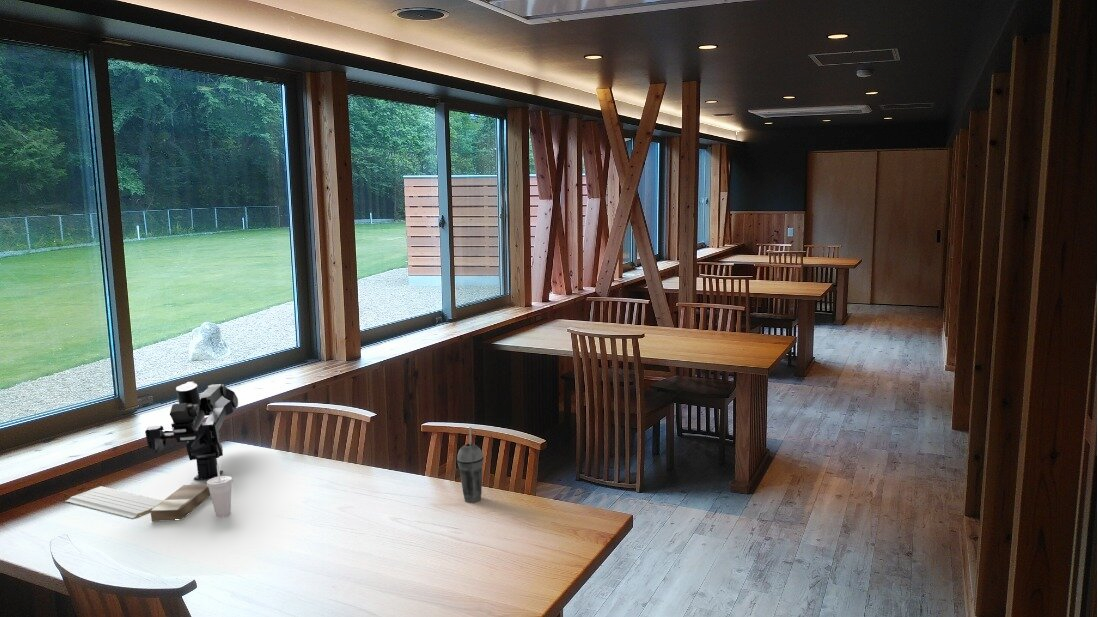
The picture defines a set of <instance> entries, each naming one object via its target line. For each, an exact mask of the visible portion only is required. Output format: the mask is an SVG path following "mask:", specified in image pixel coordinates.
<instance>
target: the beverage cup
mask: <svg viewBox="0 0 1098 617" xmlns="http://www.w3.org/2000/svg"><path fill="white" fill-rule="evenodd" d="M468 435H469V436H468V437H469V443H466V444H464V445H463V446H461V447H460V448H459V450H458V453H457V455H456V457H457V458H456V461H457V465H458V468H459V476H460V481H461V487H462V493H463V494H462V495H463V499H464V502H466V503H469V504H475V503H478V502H481V500H482V492H483V490H482V486H483V484H482V482H483V466H484V465H483V464H484V459H485V458H484V454H483V451H482V449H481V447H479V446H478V445H476V444H474V443H472V427H470V426H469V434H468Z"/></svg>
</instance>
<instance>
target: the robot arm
mask: <svg viewBox="0 0 1098 617" xmlns="http://www.w3.org/2000/svg"><path fill="white" fill-rule="evenodd" d="M175 391H176V396H177V400H178V403H174V404H172V405H171V408H170V412H169V416H170V417H171V420H172V422H171V428H173V429H164V426H162V425H153V426H148V427H147V428H146V430H145V432H144V433H145V438H146V442H147V446H148V448H149V449H150V450H154V451H155V454H156V455H157V454H159V453H160V452H162V451H163V450H164V449H165V447H166V444H167V440H168V439H176V443H185V442H186V451H187V455H188V458H189V461H194V460H196V468H197V475H196V476H194V477H193V480H194V481H196V480H197V481H199V480H200V481H201V480H209V479H211V478H214V477H218V473H217V465H218V459H219V458H220V457H223V455H224V452H223V450H224V449H223V445H222V443H221V442H220V430H221V427H222V425H223V424H224V421H225V420H226V417H228V416H229V415H232V414H234V413H235V411H236V409H237V408H238V407H239V398H238V396H237V395H236V393H235V391H233V390H232V389H230V388H228V387H227V386H226V385H225V384H223V383H219V384H209V385H208V386H207V388H206V389H205V390H204V391H203V392H201V393H199V392H200V391H199V387H198V384H197V383H196V382H195V381H187V382H186V383H182V384H180V385H177V386H176V387H175ZM206 416H207V418H206ZM205 418H206V420H205ZM204 420H205V421H204ZM219 470H220V475H221V474H222V473H223V472H224V470H223V469H222V470H221V469H219Z"/></svg>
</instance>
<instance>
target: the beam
mask: <svg viewBox="0 0 1098 617" xmlns="http://www.w3.org/2000/svg"><path fill="white" fill-rule="evenodd" d="M209 497H211V495H210V491H209V487H207V483H204V484H184V485H182V486H180V487H179V488H178V489H177V490H175V491H174V492H173V493H171V494H170V495H169V496H167V497H166V498H165V499H163V501H162V502H161V503H159V504H158V505H157V506H155V507H154V508H153V509H151V510H150V512H149V513H150V517H151V518H150V519H151V522H157V521H156V520H169V521H176V520H175V519H182V518H183V517H184V518H186V517H187V516H188V515H189V514H190V513H191V512H192V510H193V509H194V510H196V508H197V507H199V505H201V504H202V503H203V502H205V501H206V500H207V499H208V498H209ZM194 510H193V511H194ZM188 513H189V514H188ZM187 514H188V515H187ZM186 515H187V516H186ZM184 518H183V519H184ZM183 519H182V520H183Z"/></svg>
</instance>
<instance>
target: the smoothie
mask: <svg viewBox="0 0 1098 617" xmlns="http://www.w3.org/2000/svg"><path fill="white" fill-rule="evenodd" d="M220 470H221V469H220V465H219V464H217V473H218V476H217V477H214V478H211V479H207V481H206V484H207V487H209V491H210V498H211V501H212V502H211V503H212V505H213V510H214V513H215V516H216V517H217V518H222V517H223V516H224V517H227V516H229V515H231V513H232V483H233V477H232V476H230V475H221V474H220Z"/></svg>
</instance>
